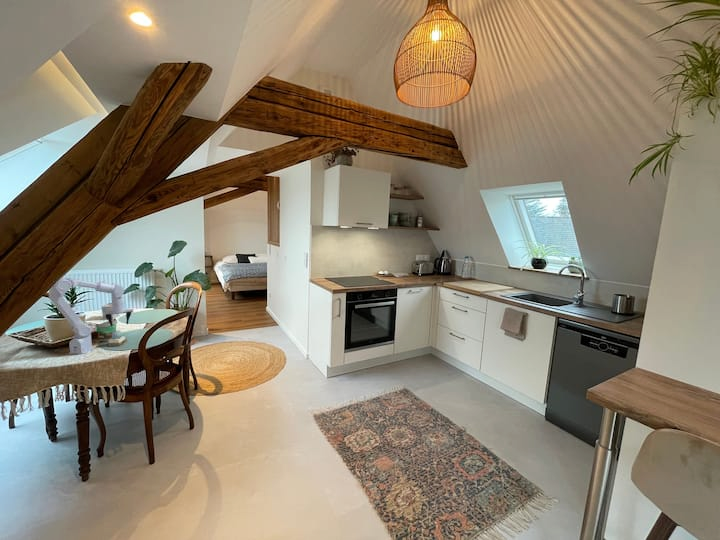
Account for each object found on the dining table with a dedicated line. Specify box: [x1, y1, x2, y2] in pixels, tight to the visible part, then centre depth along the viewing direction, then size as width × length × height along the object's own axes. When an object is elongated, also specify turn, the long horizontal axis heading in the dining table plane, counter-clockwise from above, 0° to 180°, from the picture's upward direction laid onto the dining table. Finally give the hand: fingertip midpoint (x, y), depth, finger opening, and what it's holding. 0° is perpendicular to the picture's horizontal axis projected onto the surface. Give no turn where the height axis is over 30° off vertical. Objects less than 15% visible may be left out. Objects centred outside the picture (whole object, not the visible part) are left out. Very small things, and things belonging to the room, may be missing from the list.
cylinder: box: [111, 330, 122, 340], centre depth 181 cm, size 4×4×4 cm
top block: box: [108, 335, 126, 343], centre depth 181 cm, size 6×6×2 cm
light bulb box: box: [101, 302, 121, 321], centre depth 226 cm, size 11×7×11 cm, turn 17°
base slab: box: [107, 338, 128, 347], centre depth 182 cm, size 6×6×2 cm
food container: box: [95, 318, 118, 340], centre depth 192 cm, size 12×6×10 cm, turn 168°
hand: (119, 324), depth 185 cm, fingers open, 7 cm apart
